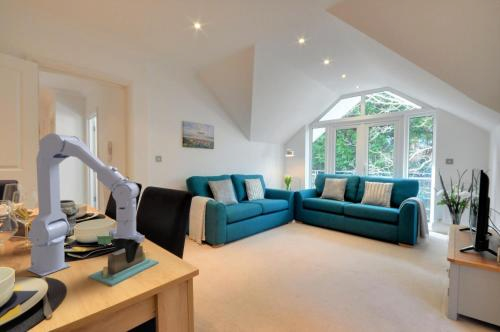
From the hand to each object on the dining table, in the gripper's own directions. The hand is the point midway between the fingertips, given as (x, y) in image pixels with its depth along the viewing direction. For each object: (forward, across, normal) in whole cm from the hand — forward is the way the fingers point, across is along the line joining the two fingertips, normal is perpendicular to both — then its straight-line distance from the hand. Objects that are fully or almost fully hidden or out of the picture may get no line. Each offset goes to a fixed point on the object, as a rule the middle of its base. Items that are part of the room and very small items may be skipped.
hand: (126, 260), depth 78 cm
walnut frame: (+2, 0, 0) cm, 2 cm away
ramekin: (+3, -28, +13) cm, 31 cm away
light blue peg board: (+3, 0, 0) cm, 3 cm away
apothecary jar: (+3, -44, +3) cm, 44 cm away
